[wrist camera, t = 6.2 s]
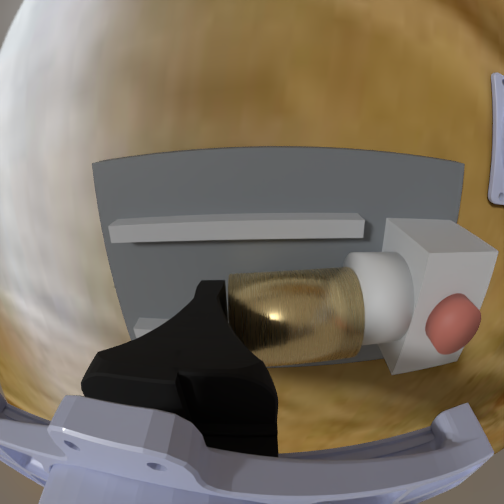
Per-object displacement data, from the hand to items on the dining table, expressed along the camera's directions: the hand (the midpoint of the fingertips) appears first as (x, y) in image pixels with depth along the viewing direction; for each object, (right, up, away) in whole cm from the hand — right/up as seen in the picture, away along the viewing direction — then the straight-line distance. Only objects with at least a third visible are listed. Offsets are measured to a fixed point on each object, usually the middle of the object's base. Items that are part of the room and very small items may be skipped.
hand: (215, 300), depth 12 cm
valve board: (+3, +1, +2) cm, 4 cm away
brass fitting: (+3, +1, +1) cm, 3 cm away
